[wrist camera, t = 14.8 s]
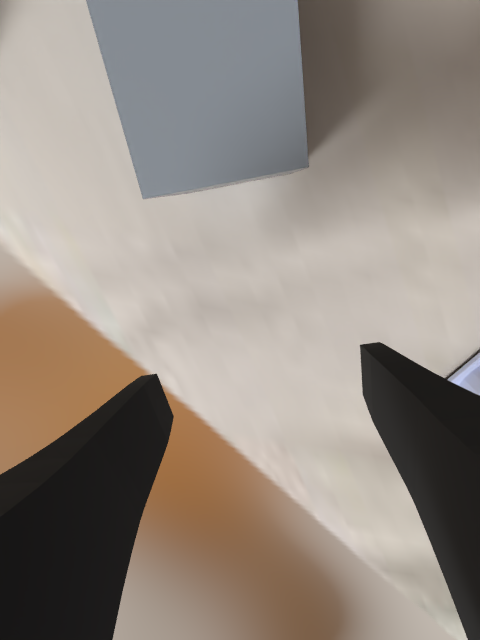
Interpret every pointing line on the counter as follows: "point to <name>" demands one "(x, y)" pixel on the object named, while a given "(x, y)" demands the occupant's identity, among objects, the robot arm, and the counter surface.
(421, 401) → the robot arm
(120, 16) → the tall gray prism
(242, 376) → the counter surface
